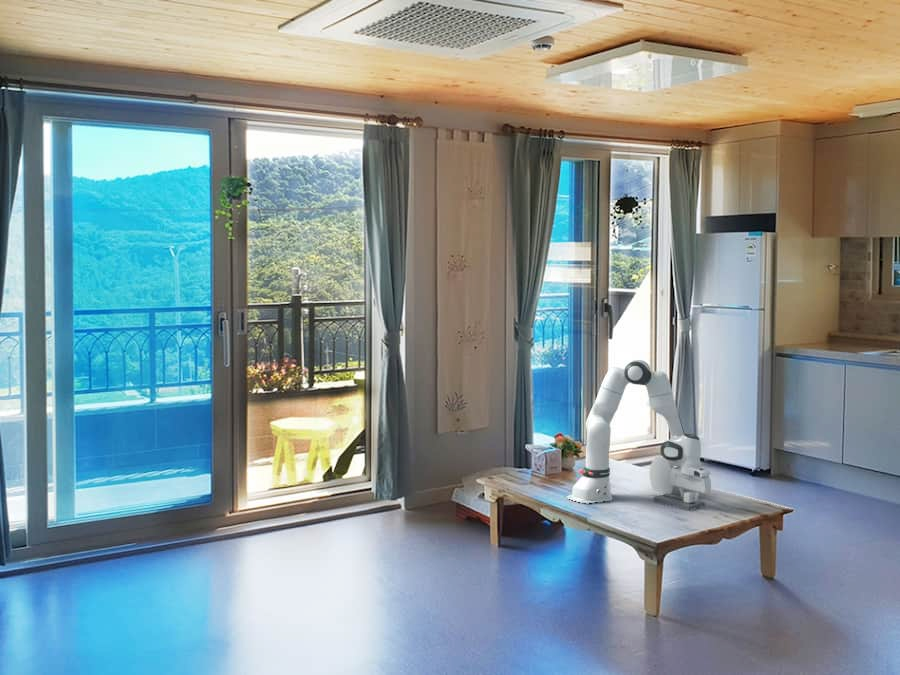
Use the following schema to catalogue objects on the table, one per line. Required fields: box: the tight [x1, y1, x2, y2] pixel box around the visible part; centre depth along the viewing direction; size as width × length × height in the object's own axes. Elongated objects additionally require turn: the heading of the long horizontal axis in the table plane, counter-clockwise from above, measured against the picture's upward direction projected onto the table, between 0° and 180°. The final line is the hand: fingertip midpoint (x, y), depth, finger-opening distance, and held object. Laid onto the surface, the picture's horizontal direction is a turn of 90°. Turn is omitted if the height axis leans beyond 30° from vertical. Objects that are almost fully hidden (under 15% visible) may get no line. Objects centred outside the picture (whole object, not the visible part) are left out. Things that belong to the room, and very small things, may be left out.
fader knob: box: [684, 490, 696, 503], centre depth 401 cm, size 5×3×5 cm, turn 128°
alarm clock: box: [649, 453, 686, 496], centre depth 424 cm, size 21×8×20 cm, turn 18°
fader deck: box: [652, 493, 706, 511], centre depth 406 cm, size 12×20×2 cm, turn 38°
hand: (689, 498), depth 401 cm, fingers open, 5 cm apart
